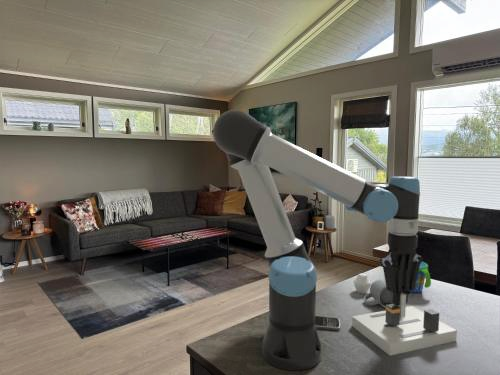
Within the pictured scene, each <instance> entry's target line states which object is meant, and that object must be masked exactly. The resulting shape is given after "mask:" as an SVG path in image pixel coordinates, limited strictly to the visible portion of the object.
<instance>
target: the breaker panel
mask: <svg viewBox="0 0 500 375" xmlns="http://www.w3.org/2000/svg"><path fill="white" fill-rule="evenodd" d="M385 321H386V310H381V311H377V312H370V313H364V314H359V315H352V318H351V323H352V324H351V326H352V328H354V329H355V330H356V331H358V332H359V333H360V334H361V335H363V336H364V337H365V338H367V339H368V340H369V341H370V342H371V343H373V344H374V345H375V346H377V347H378V348H380V349H381V350H382V351H383V352H385V353H386V354H387V355H388V356H394V355H399V354H403V353H409V352H413V351H416V350H421V349H427V348H430V347H431V348H432V347H435V346H440V345H443V344H444V345H445V344H449V343H453V342H457V337H458V336H457V334H458V332H457V331H458V330H457V329H455V328H453V327H452V326H449V325H448V324H446V323H445V322H443V321H440V320H439V329H438V331H436V332H432V333H431V332H429V331H428V330H426V329H424V328H423V324H424V311H422V310H420V309H418V308H417V307H414V306H412V305H411V306H406V309H405V317H403V318H400V321H399V325H397V326H391V325H389V324H387V323H386V322H385Z"/></svg>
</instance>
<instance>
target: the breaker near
mask: <svg viewBox="0 0 500 375" xmlns="http://www.w3.org/2000/svg"><path fill="white" fill-rule="evenodd" d="M423 312H424V324H423V328H424V329H426V330H428V331H429V332H431V333H432V332H436V331H438V329H439V321H440V312H438V311H436V310H434V309H432V308H429V309H424V310H423Z"/></svg>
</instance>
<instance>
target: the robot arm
mask: <svg viewBox="0 0 500 375" xmlns="http://www.w3.org/2000/svg"><path fill="white" fill-rule="evenodd" d="M212 134H213V139H214V143H215V145H216V146H217V147H218V148H219V149H220V150H222V151H223V152H224V153H225V154H226V157H227V159H228V162H229V165H230V168H233V169H234V170H237V172H238V174H239V176H240V178H241V182H242V185H243V187H244V191H245V193H246V194H247V195H246V196H247V197H248V200H249V203H250V205H251V208H252V211H253V213H254V216H255V219H256V222H257V224H258V226H259V230H260V231H261V234H262V238H263V239H264V242H265V244H266V250H265V253H264V257H265V259H266V263H267V265H268V268H269V271H268V276H267V278H268V283H269V284H268V285H269V286H268V324H267V327H266V329H265V333H264V336H263V339H262V342H261V354H262V357H263V358H264V360H265V362H267V363H268V364H270V365H272V366H274V367H276V368H278V369H282V370H287V371H305V370H308V369H312V368H313V367H316V366H317V365H318V364H319V363H320V362H321V360H322V357H323V347H322V342H321V340H320V339H321V338H320V337H319V333H318V329H317V328H316V326H315V316H316V302H317V301H316V297H317V295H316V294H317V282H318V281H317V280H318V276H317V270H316V267H315V265H314V263H313V262H312V259H311V257H309V254H308V252H307V250H306V247H305V244H304V242H303V240H301V239H300V238H297V237H296V236H295V233H294V231H293V228H292V225H291V223H290V219H289V217H288V215H287V212H286V209H285V207H284V204H283V201H282V199H281V195H280V194H279V191H278V188H277V185H276V183H275V179H274V177H273V175H272V172H271V169H273V170H275V171H277V172H279V173H281V174H283V175H285V176H287V177H288V178H291V179H293V180H295V181H296V182H298V183H300V184H302V185H305V186H307V187H308V188H311V189H313V190H315V191H316V192H319V193H320V194H323V195H325V196H327V197H329V198H331V199H333V200H335V201H337V202H338V203H340V204H342V205H344V208H345V210H346V211H353V212H358V213H360V214H362V215H364V216H366V217H367V219H369V220H372V221H374V222H378V223H385V222H388V224H387V230H388V233H387V246H388V248H389V249H388V251H387V255H386V256H385V257H384V258H383V257H382V258H380V259H379V262H380V264H381V266H382V269H383V277H384V281H385V282H386V287H387V290H388V291H390V292H392V293H393V304H394V305H396V306H398V307H400V318H403V317H405V309H406V307H407V306H406V305H407V304H408V296H410V295H411V294H412V292H409V291H411V290H412V291H413V290H414V288H415V284H416V279H417V275H418V271H419V267H420V264H421V262H423V260H424V257H423V256H421V255H419V254H417V250H416V249H417V248H418V241H419V240H418V239H419V238H418V237H419V236H418V235H417V234H418V231H419V210H420V196H421V190H420V189H421V188H420V187H421V185H420V184H421V183H420V180H419V178H417V177H415V176H401V175H399V176H391V177H390V178H389V181H388V183H384V184H383V183H382V184H381V183H380V184H379V183H372V182H371V181H368V180H366V179H365V178H362V177H360V176H358V175H357V174H354V173H352V172H350V171H348V170H346V169H344V168H343V167H340V166H338V165H336V164H334V163H331V162H330V161H328V160H326V159H324V158H322V157H320V156H318V155H316V154H314V153H312V152H310V151H308V150H305V149H303V148H302V147H300V146H298V145H295V144H294V143H292V142H290V141H287V140H285V139H284V138H282V137H280V136H278V135H276V134H274V133H272V130H271V127H269V126H267V125H264V124H263V123H262V122H260V121H258V120H257V119H256V118H254V117H253V116H251V115H250V114H249V113H248V112H246V111H243V110H241V109H231V110H230V109H229V110H227V111H225V112H223V113H222V114H220V115H219V116H218V117H217V118H216V121H215V122H214V124H213V129H212ZM270 168H271V169H270ZM410 284H411V285H410Z"/></svg>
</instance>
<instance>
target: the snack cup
mask: <svg viewBox="0 0 500 375" xmlns="http://www.w3.org/2000/svg"><path fill="white" fill-rule="evenodd" d="M410 285H411V284H410ZM431 285H432V280H431V275H430V272H429V264H427V263H426V262H424V261H422V262H421V264H420V267H419V271H418V275H417V279H416V284H415V288H414V290H413V291H412V290H411V291H409V292H411V293H420V292H422V291H423V289H424V288H430V287H431Z"/></svg>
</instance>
